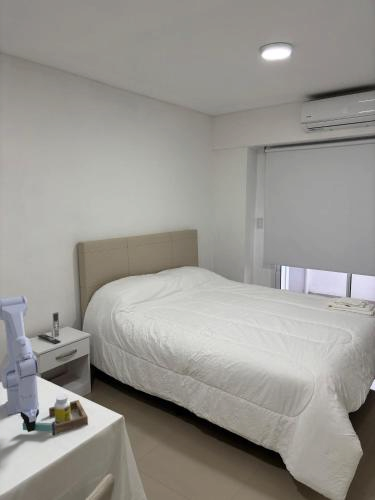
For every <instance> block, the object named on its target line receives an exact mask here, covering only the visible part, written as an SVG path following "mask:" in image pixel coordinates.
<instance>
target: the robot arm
mask: <svg viewBox="0 0 375 500" xmlns="http://www.w3.org/2000/svg"><path fill="white" fill-rule="evenodd" d="M27 311H28V301H27V297H26V296H25V295H21V296H14V297H7V298H0V321H3V323H4V327H5V328H4V329H5V330H4V331H5V339H6V348H7V358H8V361H7V362H6V363H5V364H4V365H3V366H2V367H1V374H0V375H1V376H0V378H1V379H0V380H1V385H2V388H3V389H4V390H6V396H7V397H6V398H7V401H6V402H5V407H6V411H7V415H9V416H10V415H15V414H17V413H20V417H21V418H22V420H23V421H25V424H26V428H27V430H26V431H27V433H29V432H30V433H31V432H35V431H34V430H35V423H36V422H37V418H38V416H39V414H40V409H39V406H40V402H39V396H38V395H39V394H38V392H39V391H38V378H37V374H38V373H39V363H38V360H37V357H36V355H35V353H34V352H33V348H32V343H31V339H30V338H29V337H27V336H26V333H25V331H26V330H25V324H24V317H25V316H26V314H27Z"/></svg>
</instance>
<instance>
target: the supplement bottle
mask: <svg viewBox="0 0 375 500" xmlns="http://www.w3.org/2000/svg"><path fill="white" fill-rule="evenodd" d="M55 399H56V400H55V402H54V405H53V407H54V408H55V416H54V420H55V421H54V423H55V424H58V423H61V422H65V421H68V420H71V411H70V402H71V401H70V400H69V396H68V394H67V393H61V394H58V395H56V397H55Z"/></svg>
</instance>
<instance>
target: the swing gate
mask: <svg viewBox="0 0 375 500" xmlns="http://www.w3.org/2000/svg"><path fill="white" fill-rule="evenodd" d="M52 423H53V422H51V423H49V422H37V421H36V423H35V430H34V431H33V432H46V433H47V432H48V433H49V432H50V433H51V432H52ZM22 430H23V431H27V428H26V424H25V421H24V420H23V423H22Z"/></svg>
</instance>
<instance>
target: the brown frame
mask: <svg viewBox="0 0 375 500" xmlns="http://www.w3.org/2000/svg"><path fill="white" fill-rule="evenodd" d="M79 400H80V399H77V400H73V401H70V412H72V411H77V413H78V415H79V417H76V418H72V419H71V420H68V421H65V422H61V423H58V424H56V423H55V422H51V423H52V431H51V432H52V436H56V435H58V434H61V433H64V432H67V431H70V430H74V429H77V428H81V427H83V426H86V425H89V419H88V414H87V413H86V411H85V410H84V409H85V408H84V406H82V404H81V402H80V401H79ZM48 412H49V413H48V414H49V418H51V417H55V408H54V406H52V407H48Z"/></svg>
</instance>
